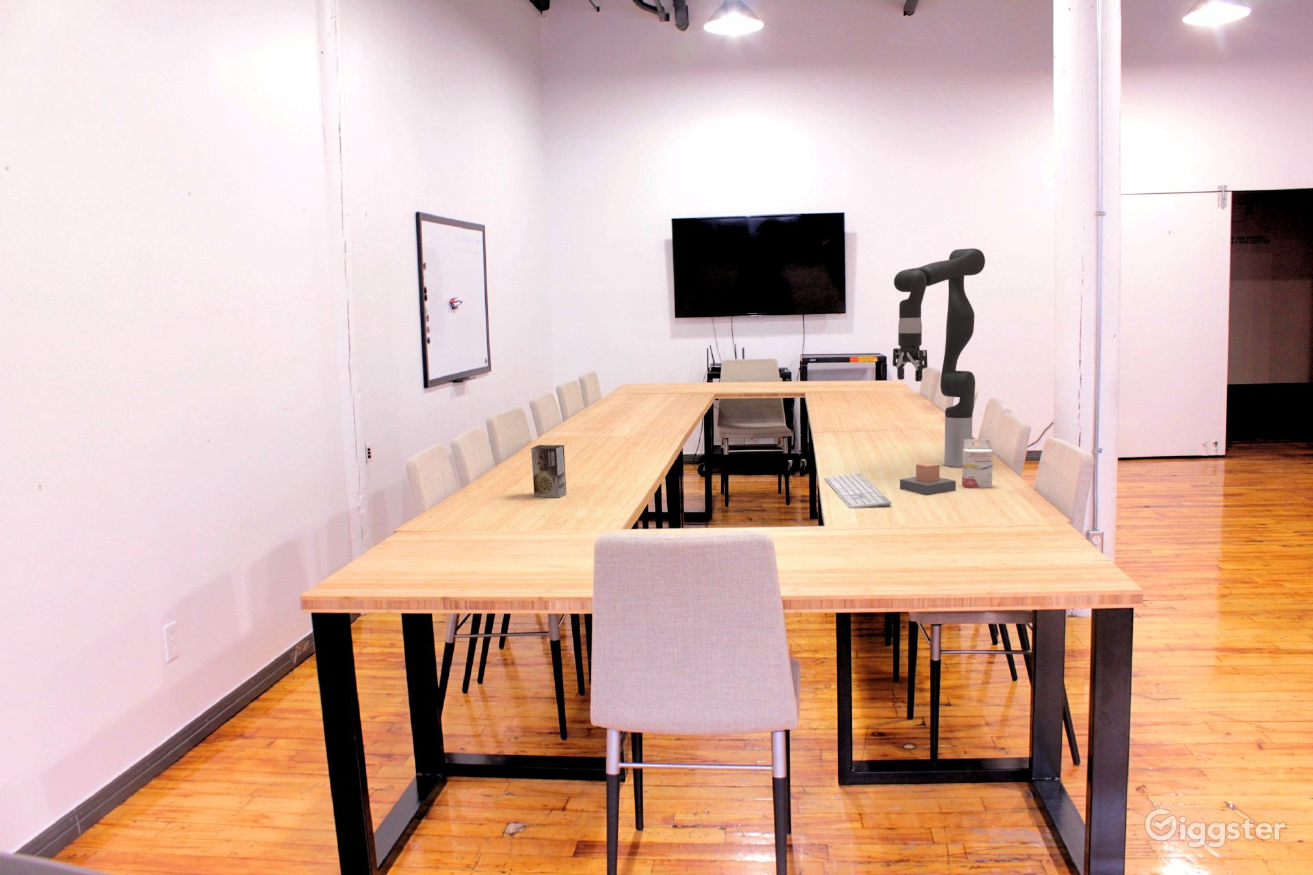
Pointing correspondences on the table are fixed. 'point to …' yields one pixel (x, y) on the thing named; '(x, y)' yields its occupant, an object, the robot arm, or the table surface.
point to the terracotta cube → (927, 472)
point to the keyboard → (857, 491)
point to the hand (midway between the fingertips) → (909, 380)
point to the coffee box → (548, 470)
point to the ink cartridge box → (977, 464)
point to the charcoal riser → (928, 485)
